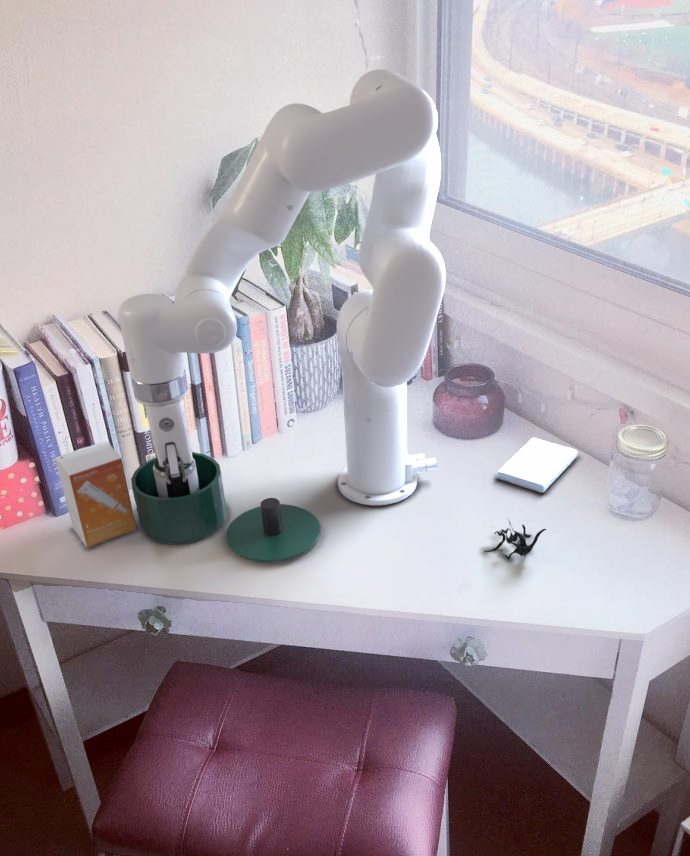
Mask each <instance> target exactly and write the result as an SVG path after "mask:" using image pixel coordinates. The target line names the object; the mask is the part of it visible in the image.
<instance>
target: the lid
mask: <svg viewBox="0 0 690 856" xmlns="http://www.w3.org/2000/svg"><path fill="white" fill-rule="evenodd" d="M320 524H321V523H320V521H319V519H318V518H317V517H316V516H315V515H314V513H312V512H311V511H310V510H307V509H306V508H303V507H301V506H297V505H293V504H285V503H281V501H280V500H279V499H278V498H276V497H266V498H264V499H263V500H261V502H260V506H256V507H253V508H250V509H248V510H246V511H244V512H242V513H240V514H239V515H238V516H236V517H235V518H234V519H233V520H232V521H231V522H230V524H229V525H228V527H227V529H226V531H225V538H226V539H225V541H226V543H227V546H228V548H229V550H231V551H232V552H233V553H234V554H235V555H236V556H238V557H240V558H242V559H244V560H247V561H251V562H256V563H265V564H266V563H268V564H269V563H279V562H285V561H290V560H293V559H295V558H297V557H300V556H302V555H304V554H305V553H307V552H308V551H310V550H311V549H312V548H313V547H314V546H315V545H316V544H317V542H318V541H319V539H320V536H321V525H320Z"/></svg>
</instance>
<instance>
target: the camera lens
mask: <svg viewBox="0 0 690 856" xmlns="http://www.w3.org/2000/svg"><path fill="white" fill-rule="evenodd" d="M177 461H180V457H178V458H177ZM166 462H167V463H169V461H168V459H166ZM178 468H179V472H181V467H180V466H178ZM184 470H185V475H186V479H188V483H189V488H190V494H192V493H195V492H198V491H200V488H199V482H198V476H197V469H196V463H195V460H194V458H193V461H192V463H191V464H189V463H187V464H185V463H184ZM153 471H154V477H155V482H156V487H157V492H158V497H159V498H169V497H168V492H167V487H166V482H167V478H166V472H165V467H164V468H163V467H161V466H160V465H159V462H158V459H157V460H156V461H155V463H154V465H153ZM169 473H170V468H169Z"/></svg>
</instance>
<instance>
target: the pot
mask: <svg viewBox="0 0 690 856" xmlns="http://www.w3.org/2000/svg"><path fill="white" fill-rule="evenodd" d="M192 457H193V458H194V460H195V463H196V469H197V476H198V482H199V488H200V491H198V492H195V493H192V494H189V495H186V496H181V497H175V498H159V497H158V492H157V487H156V482H155V477H154V471H153V465H154V463H155V461H156V460H157V459H158V458H157V456H156V457H153V458H151V459H150V460H147V461H145V462H144V463H142V464H141V465H140V466H139V467H138V468H137V469H135V470H134V472H133V475H132V476H131V478H130V480H131V481H130V482H131V489H132V494H133V498H134V503H135V508H136V512H137V517H138V522H139V526H140V529H141V531H142V533H143V534H144V535H145V536H146V537H147V538H149V539H150V540H152V541H154V542H157V543H161V544H167V545H184V544H190V543H195V542H198V541H201V540H204V539H206V538H208V537H210V536H211V535H213V534H215V533H216V532H218V530H220V529H221V528H222V527H223V525H224V524H225V522H226V519H227V516H228V511H227V506H226V505H227V504H226V497H225V490H224V484H223V483H224V482H223V477H222V471H221V466H220V464H219V463H218V461H216V460H215V458H214V457H211V456H209V455H207V454H205V453H200V452H195V451H192Z"/></svg>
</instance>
